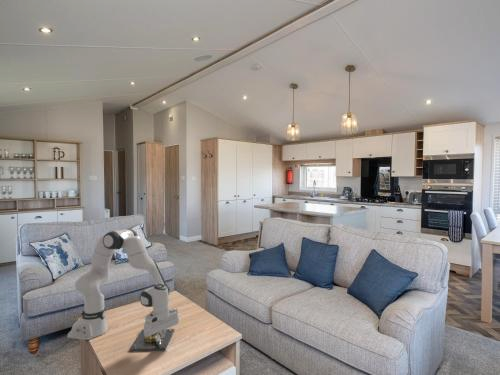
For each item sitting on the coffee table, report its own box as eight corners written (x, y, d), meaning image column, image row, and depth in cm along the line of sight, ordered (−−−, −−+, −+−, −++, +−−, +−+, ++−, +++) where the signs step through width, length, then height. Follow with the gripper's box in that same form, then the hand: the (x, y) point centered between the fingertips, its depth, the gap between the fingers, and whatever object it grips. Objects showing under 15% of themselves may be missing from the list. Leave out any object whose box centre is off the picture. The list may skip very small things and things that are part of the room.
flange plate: (129, 351, 163) (129, 337, 163) (142, 331, 183) (142, 320, 183) (165, 350, 163) (165, 337, 163) (174, 331, 183) (174, 319, 183)
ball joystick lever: (142, 336, 174) (141, 326, 174) (158, 331, 180) (158, 321, 180) (150, 349, 161) (149, 338, 161) (167, 343, 167) (167, 332, 167)
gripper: (174, 305, 176) (175, 328, 176) (141, 318, 161) (143, 342, 162) (180, 308, 171) (181, 331, 172) (147, 321, 157) (148, 346, 157)
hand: (162, 337), depth 167 cm, fingers closed
